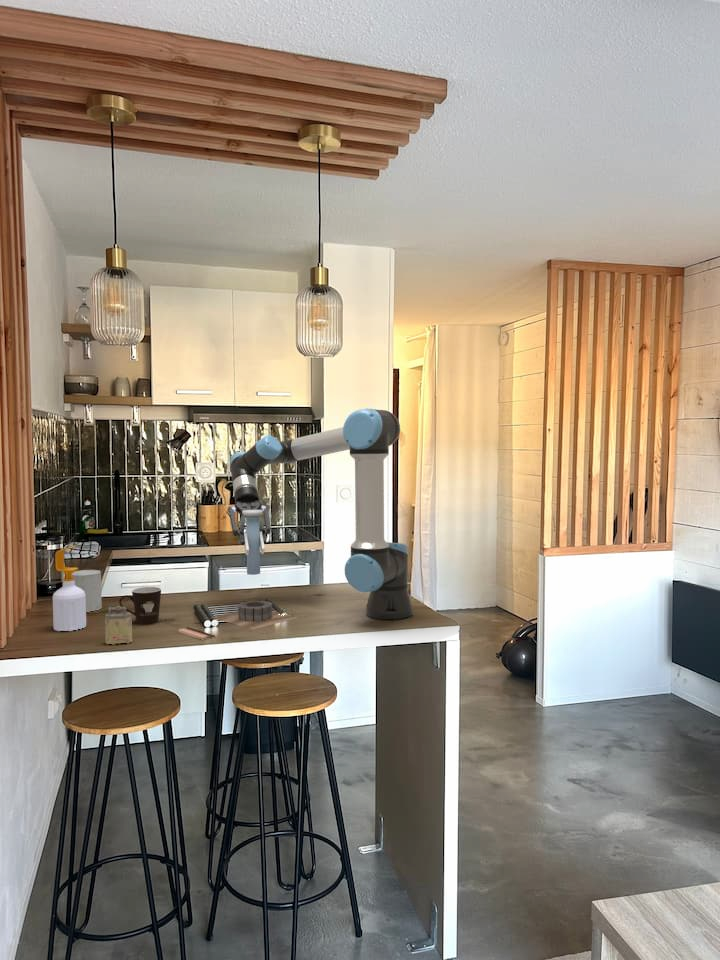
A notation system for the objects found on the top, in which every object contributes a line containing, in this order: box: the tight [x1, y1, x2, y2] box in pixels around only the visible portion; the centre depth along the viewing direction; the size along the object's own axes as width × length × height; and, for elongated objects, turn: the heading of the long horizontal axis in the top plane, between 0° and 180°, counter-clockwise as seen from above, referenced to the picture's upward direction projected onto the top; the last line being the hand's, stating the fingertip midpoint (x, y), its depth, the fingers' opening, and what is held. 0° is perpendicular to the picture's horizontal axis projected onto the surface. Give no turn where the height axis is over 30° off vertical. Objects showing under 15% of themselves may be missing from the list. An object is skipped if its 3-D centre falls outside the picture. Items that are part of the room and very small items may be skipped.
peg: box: [242, 510, 263, 576], centre depth 214 cm, size 6×6×19 cm
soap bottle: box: [52, 545, 87, 632], centre depth 208 cm, size 9×9×25 cm
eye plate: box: [211, 600, 300, 630], centre depth 215 cm, size 20×18×6 cm
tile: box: [178, 626, 216, 641], centre depth 205 cm, size 12×12×1 cm
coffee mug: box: [118, 586, 162, 626], centre depth 215 cm, size 12×9×10 cm
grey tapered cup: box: [72, 569, 103, 613], centre depth 231 cm, size 10×10×12 cm
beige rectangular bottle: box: [104, 605, 133, 645], centre depth 194 cm, size 7×4×10 cm, turn 101°
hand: (255, 551), depth 210 cm, fingers closed on peg, 4 cm apart
